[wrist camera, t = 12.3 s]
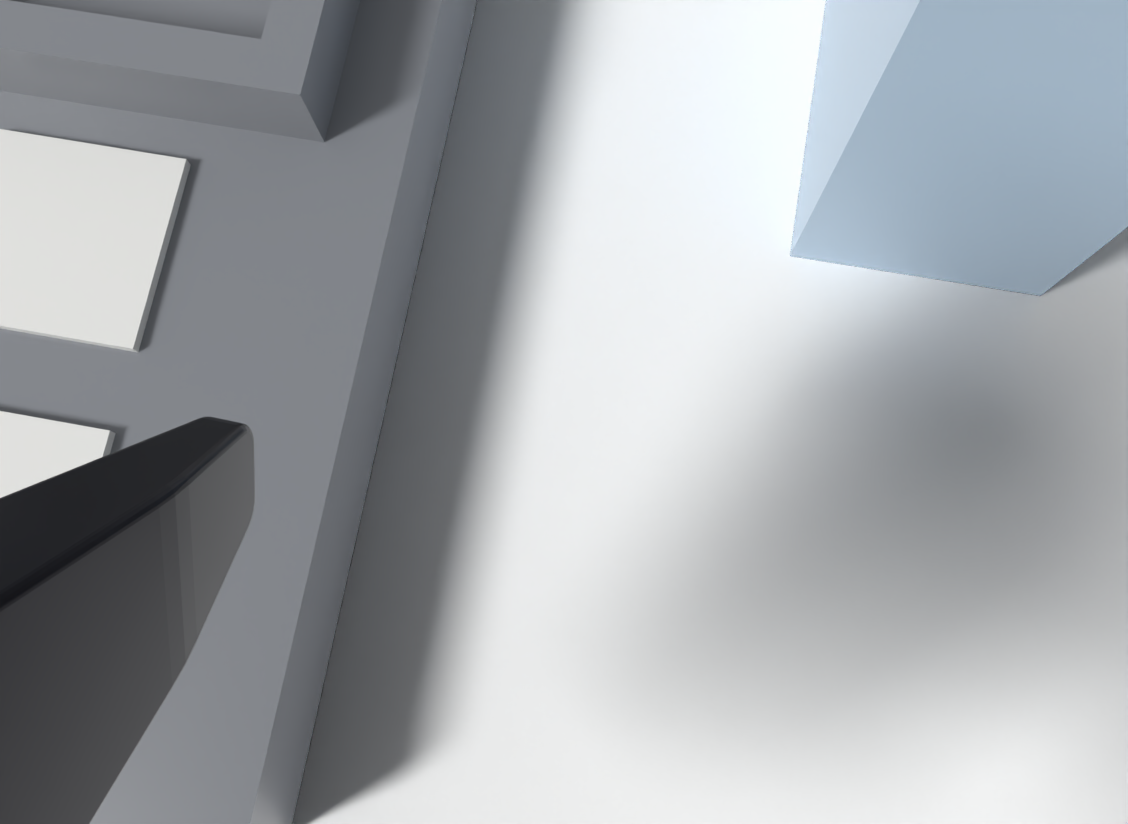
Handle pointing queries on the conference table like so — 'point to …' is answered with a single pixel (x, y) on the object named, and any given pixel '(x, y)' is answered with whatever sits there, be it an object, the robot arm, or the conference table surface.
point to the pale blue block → (967, 139)
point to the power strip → (221, 312)
